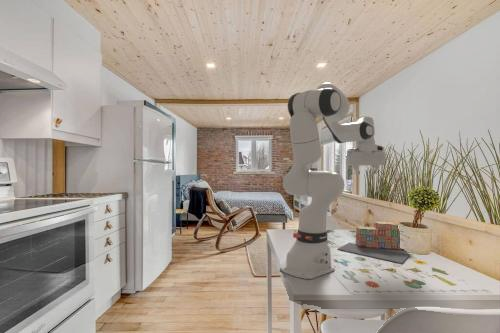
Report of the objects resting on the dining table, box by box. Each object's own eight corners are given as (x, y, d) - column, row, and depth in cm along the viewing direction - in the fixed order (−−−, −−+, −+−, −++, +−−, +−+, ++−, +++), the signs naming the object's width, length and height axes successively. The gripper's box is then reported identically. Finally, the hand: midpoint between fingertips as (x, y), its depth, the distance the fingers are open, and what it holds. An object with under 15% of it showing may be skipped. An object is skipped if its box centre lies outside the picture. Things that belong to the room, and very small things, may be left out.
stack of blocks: (359, 247, 124) (359, 222, 125) (355, 244, 131) (355, 220, 131) (404, 249, 122) (404, 224, 123) (398, 246, 129) (398, 222, 129)
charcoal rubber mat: (402, 264, 103) (402, 262, 103) (337, 249, 123) (337, 248, 123) (409, 255, 114) (409, 254, 114) (349, 243, 134) (349, 242, 134)
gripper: (350, 147, 126) (350, 174, 126) (387, 147, 128) (387, 173, 129) (344, 148, 133) (344, 174, 133) (379, 148, 135) (380, 173, 135)
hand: (366, 174), depth 131 cm, fingers open, 8 cm apart
